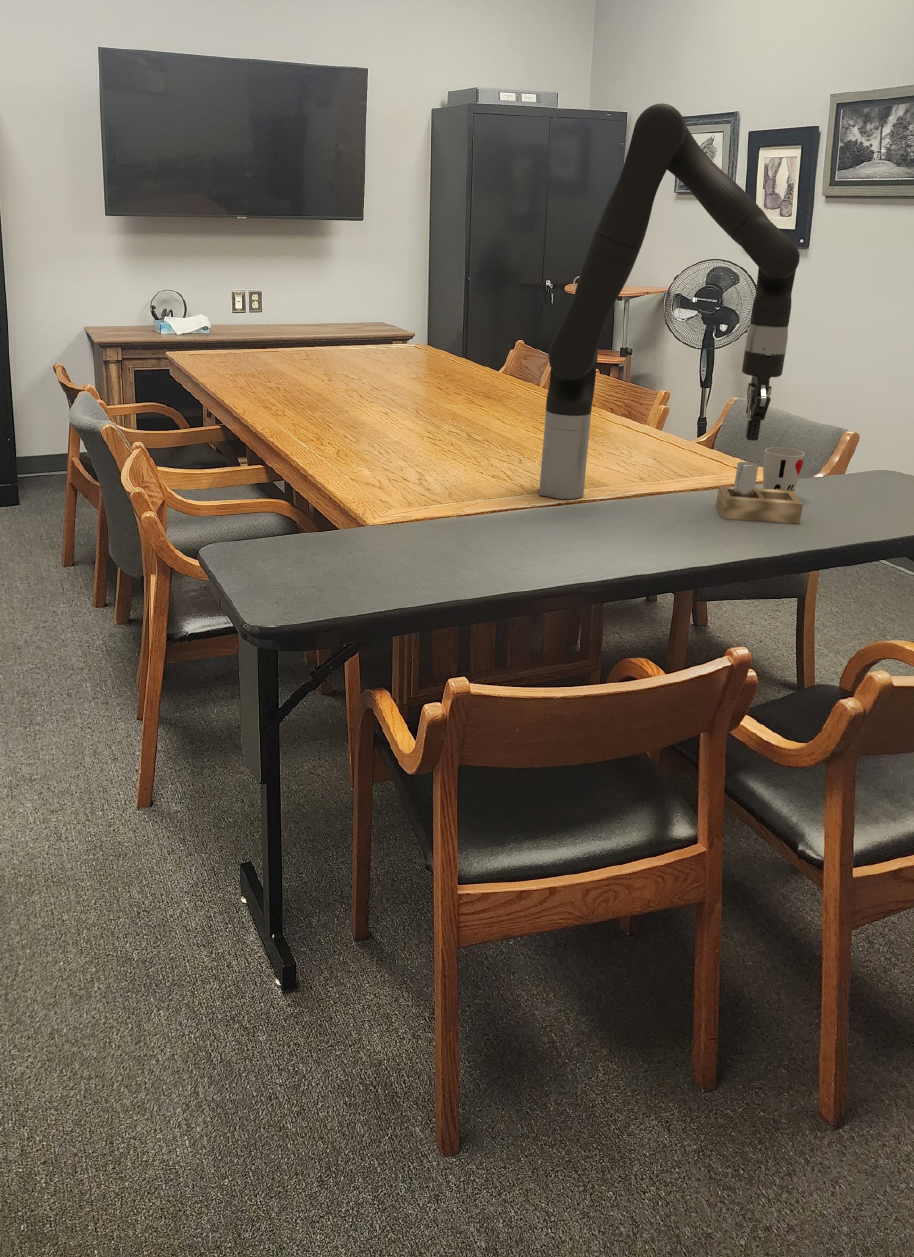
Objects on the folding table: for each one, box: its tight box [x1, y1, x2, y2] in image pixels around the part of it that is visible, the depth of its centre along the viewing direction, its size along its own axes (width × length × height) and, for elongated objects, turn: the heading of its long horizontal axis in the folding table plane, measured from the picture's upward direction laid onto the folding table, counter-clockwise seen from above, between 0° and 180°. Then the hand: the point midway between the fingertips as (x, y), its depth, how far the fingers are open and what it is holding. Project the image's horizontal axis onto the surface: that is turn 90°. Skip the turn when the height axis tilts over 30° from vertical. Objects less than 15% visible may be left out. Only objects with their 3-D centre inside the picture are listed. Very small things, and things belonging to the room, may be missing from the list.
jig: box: [715, 485, 804, 525], centre depth 213 cm, size 15×10×4 cm, turn 85°
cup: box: [762, 447, 806, 492], centre depth 224 cm, size 8×8×10 cm
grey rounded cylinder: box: [733, 461, 759, 498], centre depth 212 cm, size 4×4×10 cm
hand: (751, 439), depth 208 cm, fingers closed
